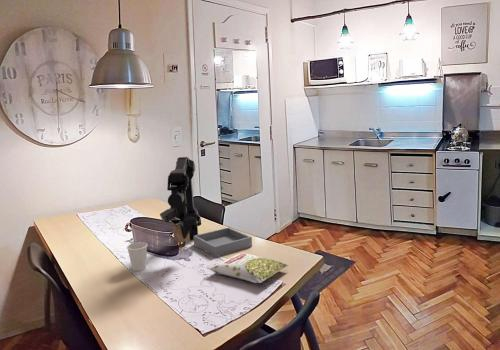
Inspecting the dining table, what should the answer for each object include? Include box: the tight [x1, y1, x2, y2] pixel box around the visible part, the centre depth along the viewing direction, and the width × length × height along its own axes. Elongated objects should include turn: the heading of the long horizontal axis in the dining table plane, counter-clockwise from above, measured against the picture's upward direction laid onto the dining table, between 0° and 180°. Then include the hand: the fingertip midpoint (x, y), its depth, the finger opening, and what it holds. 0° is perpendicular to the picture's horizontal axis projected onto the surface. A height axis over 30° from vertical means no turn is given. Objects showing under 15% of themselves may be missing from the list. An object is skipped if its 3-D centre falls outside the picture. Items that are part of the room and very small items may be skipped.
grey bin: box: [193, 226, 253, 257], centre depth 197 cm, size 20×20×4 cm
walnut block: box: [172, 223, 191, 244], centre depth 178 cm, size 5×5×7 cm
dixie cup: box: [126, 241, 148, 272], centre depth 174 cm, size 8×8×10 cm
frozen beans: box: [207, 252, 289, 284], centre depth 165 cm, size 21×6×25 cm
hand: (181, 236), depth 179 cm, fingers closed on walnut block, 5 cm apart
